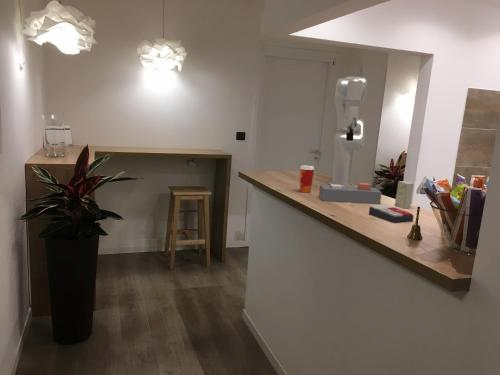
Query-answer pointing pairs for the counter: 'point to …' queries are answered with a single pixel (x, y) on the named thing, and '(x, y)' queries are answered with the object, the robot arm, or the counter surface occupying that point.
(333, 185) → the grey plug
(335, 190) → the plug block
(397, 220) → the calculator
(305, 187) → the paper cup
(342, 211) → the counter surface
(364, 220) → the counter surface
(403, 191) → the skincare box
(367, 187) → the red plug
